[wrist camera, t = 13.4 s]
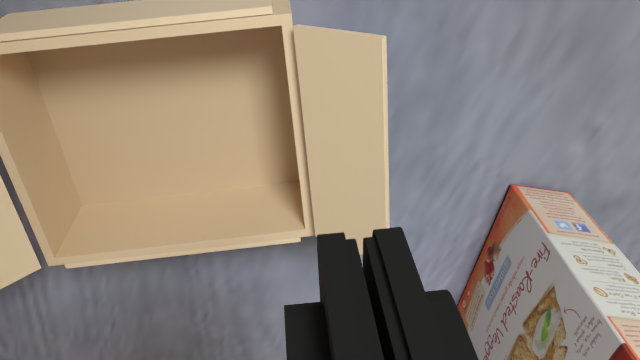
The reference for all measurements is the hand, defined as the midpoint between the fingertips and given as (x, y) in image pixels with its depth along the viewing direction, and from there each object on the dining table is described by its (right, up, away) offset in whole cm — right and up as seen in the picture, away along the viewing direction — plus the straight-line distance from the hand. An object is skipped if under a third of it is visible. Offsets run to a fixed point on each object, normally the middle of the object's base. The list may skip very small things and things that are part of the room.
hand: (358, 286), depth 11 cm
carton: (-11, +7, +28) cm, 31 cm away
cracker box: (+16, -4, +38) cm, 41 cm away
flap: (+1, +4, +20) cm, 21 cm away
